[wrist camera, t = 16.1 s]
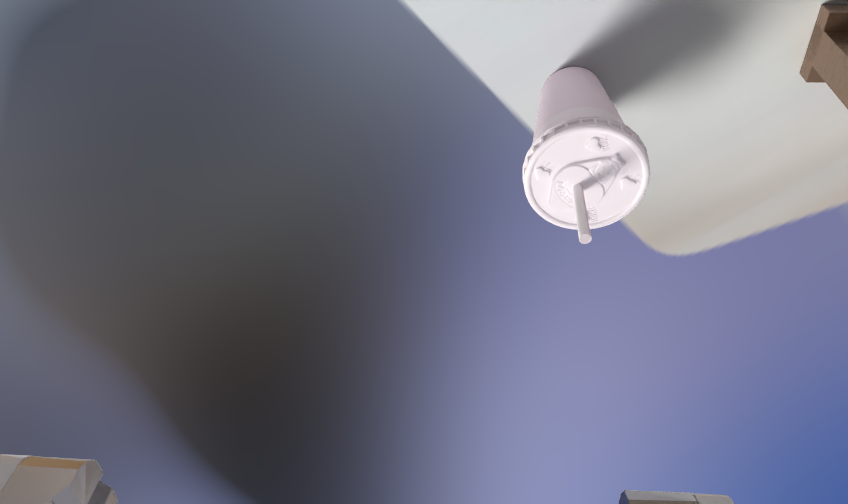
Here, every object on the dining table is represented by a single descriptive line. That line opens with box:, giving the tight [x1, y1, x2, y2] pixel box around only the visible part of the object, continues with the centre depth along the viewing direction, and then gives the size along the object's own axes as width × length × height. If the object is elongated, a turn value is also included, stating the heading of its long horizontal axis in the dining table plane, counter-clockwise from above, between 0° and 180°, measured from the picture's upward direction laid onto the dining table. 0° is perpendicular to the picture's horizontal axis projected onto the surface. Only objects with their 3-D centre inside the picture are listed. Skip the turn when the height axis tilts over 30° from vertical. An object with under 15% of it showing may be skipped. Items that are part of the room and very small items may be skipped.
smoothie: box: [523, 67, 650, 244], centre depth 38 cm, size 6×6×14 cm
